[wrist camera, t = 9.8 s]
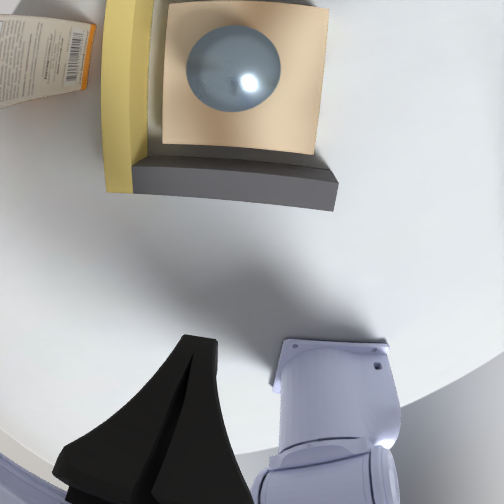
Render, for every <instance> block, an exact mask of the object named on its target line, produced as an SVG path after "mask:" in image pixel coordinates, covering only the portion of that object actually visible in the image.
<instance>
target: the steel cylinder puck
mask: <svg viewBox="0 0 504 504" xmlns="http://www.w3.org/2000/svg"><path fill="white" fill-rule="evenodd" d="M186 75H187V80H188V84H189V86H190V88H191V90H192V92H193V93H194V95H195V96H196V97H197V98H198V99H199V100H200V101H201V102H202V103H204V104H205V105H207V106H209V107H211V108H213V109H216V110H219V111H223V112H240V111H245V110H249V109H251V108H254V107H256V106H257V105H259V104H261V103H262V102H263V101H265V100H266V99H267V98H269V97H270V96H271V95H272V93H273V92H274V91H275V89H276V88H277V86H278V84H279V81H280V76H281V63H280V58H279V54H278V52H277V50H276V48H275V46H274V45H273V43H272V42H271V41H270V40H269V39H268V38H267V37H266V36H265V35H264V34H262V33H261V32H259V31H257V30H255V29H253V28H250V27H246V26H240V25H229V26H223V27H220V28H216V29H214V30H212V31H210V32H208V33H207V34H205V35H204V36H203V37H201V38H200V39H199V40H198V41H197V42H196V44H195V45H194V46H193V48H192V50H191V51H190V54H189V56H188V60H187V65H186Z"/></svg>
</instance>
